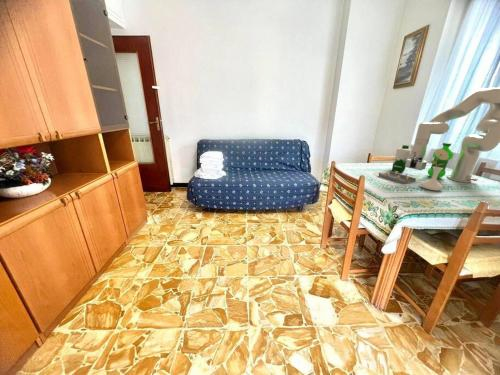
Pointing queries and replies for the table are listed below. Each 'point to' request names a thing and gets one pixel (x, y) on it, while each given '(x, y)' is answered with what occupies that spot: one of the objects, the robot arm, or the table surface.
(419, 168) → the block
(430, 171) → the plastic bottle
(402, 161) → the milk carton
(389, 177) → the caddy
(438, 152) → the flower in vase
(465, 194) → the table surface
